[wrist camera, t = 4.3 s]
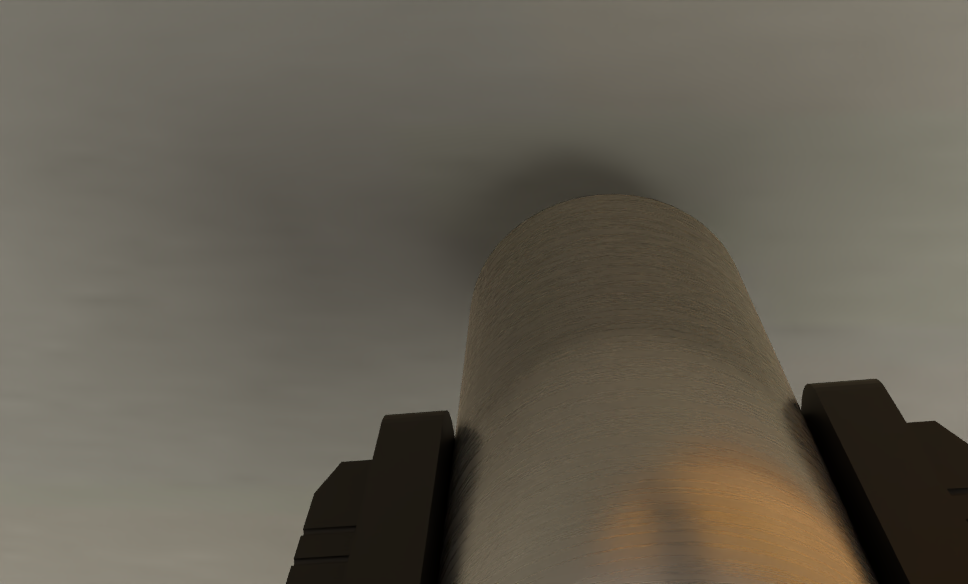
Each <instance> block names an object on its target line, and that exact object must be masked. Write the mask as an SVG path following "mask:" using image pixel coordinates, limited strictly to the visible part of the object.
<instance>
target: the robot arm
mask: <svg viewBox="0 0 968 584" xmlns="http://www.w3.org/2000/svg"><path fill="white" fill-rule="evenodd" d="M801 412H802V414H803V416H804V418H805V420H806V423H807V425H808V427H809V429H810V431H811V434H812V436H813V438H814V440H815V443H816V445H817V447H818V449H819V451H820V454H821V456H822V458H823V460H824V462H825V465H826V467H827V469H828V471H829V474H830V476H831V478H832V480H833V482H834V485H835V487H836V489H837V491H838V494H839V496H840V498H841V500H842V502H843V505H844V507H845V509H846V511H847V513H848V516H849V518H850V520H851V522H852V525H853V527H854V529H855V531H856V533H857V536H858V538H859V540H860V542H861V544H862V547H863V549H864V551H865V553H866V556H867V558H868V560H869V562H870V564H871V567H872V569H873V571H874V573H875V575H876V578H877V580H878V582H879V584H968V444H967V443H966V442H965V441H963V440H962V439H960V438H959V437H957V436H956V435H955V434H953V433H952V432H950V431H949V430H947V429H946V428H944V427H943V426H942V425H940V424H939V423H937V422H936V421H925V422H911V423H906V421H905V420H904V418H903V416H902V415H901V413H900V411H899V410H898V408H897V407H896V405H895V403H894V402H893V400H892V398H891V397H890V395H889V393H888V392H887V390H886V389H885V387H884V386H883V384H882V383H881V382H880V381H879V380H877V379H866V380H853V381H840V382H826V383H813V384H807V385H806V386H805V388H804V390H803V395H802V405H801ZM454 443H455V436H454V430H453V425H452V420H451V417H450V414H449V412H448V411H447V410H446V411H433V412H419V413H406V414H393V415H385V416H384V418H383V420H382V423H381V427H380V431H379V435H378V439H377V443H376V447H375V451H374V456H373V460H363V461H349V462H341V463H340V464H339V466H338V467H337V468H336V469H335V470H334V471H333V473H332V474H331V475H330V476H329V477H328V478H327V479H326V481H325V482H324V483H323V484H322V485H321V486H320V488H319V489H318V490H317V491H316V492H315V493H314V496H313V499H312V502H311V506H310V509H309V512H308V515H307V518H306V521H305V525H304V528H303V531H304V534H303V536H301V537H300V540H299V544H298V547H297V550H296V553H295V556H294V566H291V569H290V572H289V575H288V578H287V582H286V584H438V576H439V568H440V560H441V551H442V543H443V535H444V526H445V518H446V509H447V501H448V493H449V484H450V476H451V468H452V459H453V451H454Z"/></svg>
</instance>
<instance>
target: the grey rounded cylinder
mask: <svg viewBox="0 0 968 584" xmlns="http://www.w3.org/2000/svg"><path fill="white" fill-rule="evenodd" d="M438 584H879V582H878V580H877V578H876V575H875V573H874V571H873V569H872V567H871V564H870V562H869V560H868V558H867V556H866V553H865V551H864V549H863V547H862V544H861V542H860V540H859V538H858V536H857V533H856V531H855V529H854V527H853V525H852V522H851V520H850V518H849V516H848V513H847V511H846V509H845V507H844V505H843V502H842V500H841V498H840V496H839V494H838V491H837V489H836V487H835V485H834V482H833V480H832V478H831V476H830V474H829V471H828V469H827V467H826V465H825V462H824V460H823V458H822V456H821V454H820V451H819V449H818V447H817V445H816V443H815V440H814V438H813V436H812V434H811V431H810V429H809V427H808V425H807V423H806V420H805V418H804V416H803V414H802V412H801V409H800V407H799V405H798V403H797V400H796V398H795V396H794V394H793V392H792V389H791V387H790V385H789V383H788V381H787V378H786V376H785V374H784V372H783V369H782V367H781V365H780V363H779V361H778V358H777V356H776V354H775V352H774V350H773V347H772V345H771V343H770V341H769V338H768V336H767V334H766V332H765V330H764V327H763V325H762V323H761V321H760V318H759V316H758V314H757V312H756V310H755V307H754V305H753V303H752V301H751V299H750V296H749V294H748V292H747V290H746V287H745V285H744V283H743V281H742V279H741V276H740V274H739V272H738V270H737V268H736V265H735V263H734V261H733V260H732V258H731V256H730V255H729V253H728V251H727V250H726V248H725V247H724V246H723V244H722V243H721V242H720V241H719V239H718V238H717V237H716V236H715V235H714V234H713V233H712V232H711V231H710V230H709V229H708V228H707V227H705V226H704V225H703V224H702V223H701V222H699V221H698V220H696V219H695V218H693V217H692V216H690V215H689V214H687V213H685V212H683V211H681V210H679V209H677V208H675V207H673V206H671V205H668V204H665V203H663V202H660V201H657V200H654V199H649V198H644V197H640V196H634V195H622V194H604V195H592V196H586V197H580V198H576V199H572V200H569V201H565V202H562V203H559V204H556V205H554V206H552V207H549V208H547V209H545V210H542V211H541V212H539V213H537V214H535V215H534V216H532V217H530V218H528V219H527V220H525V221H524V222H523V223H521V224H520V225H519V226H517V227H516V228H515V229H514V230H512V231H511V232H510V233H509V234H508V235H507V236H506V237H505V238H504V239H503V240H502V241H501V242H500V243H499V244H498V246H497V247H496V248H495V250H494V251H493V252H492V254H491V255H490V256H489V258H488V259H487V261H486V263H485V265H484V266H483V268H482V270H481V272H480V275H479V277H478V280H477V282H476V285H475V288H474V293H473V297H472V301H471V309H470V317H469V326H468V334H467V342H466V351H465V359H464V368H463V376H462V384H461V393H460V401H459V409H458V418H457V426H456V434H455V443H454V451H453V459H452V468H451V476H450V484H449V493H448V501H447V509H446V518H445V526H444V535H443V543H442V551H441V560H440V568H439V576H438Z"/></svg>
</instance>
